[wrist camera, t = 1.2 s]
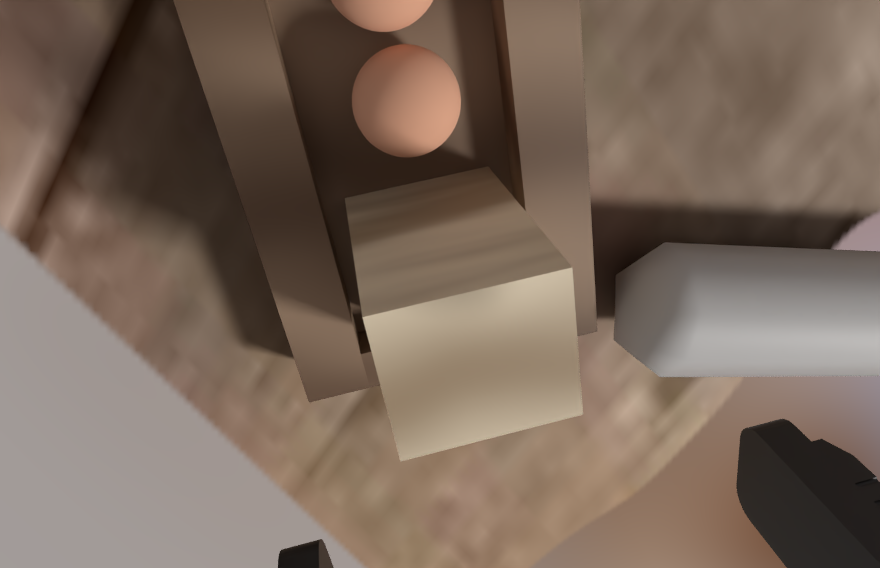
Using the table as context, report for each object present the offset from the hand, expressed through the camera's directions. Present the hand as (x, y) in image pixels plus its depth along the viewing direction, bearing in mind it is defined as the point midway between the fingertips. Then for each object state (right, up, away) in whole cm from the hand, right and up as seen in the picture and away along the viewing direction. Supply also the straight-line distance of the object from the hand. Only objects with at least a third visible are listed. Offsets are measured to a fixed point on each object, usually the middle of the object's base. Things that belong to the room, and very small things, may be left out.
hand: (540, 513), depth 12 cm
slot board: (-3, +9, +10) cm, 14 cm away
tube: (+17, +4, +17) cm, 24 cm away
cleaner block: (-2, +6, +11) cm, 13 cm away
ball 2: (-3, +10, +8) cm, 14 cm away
